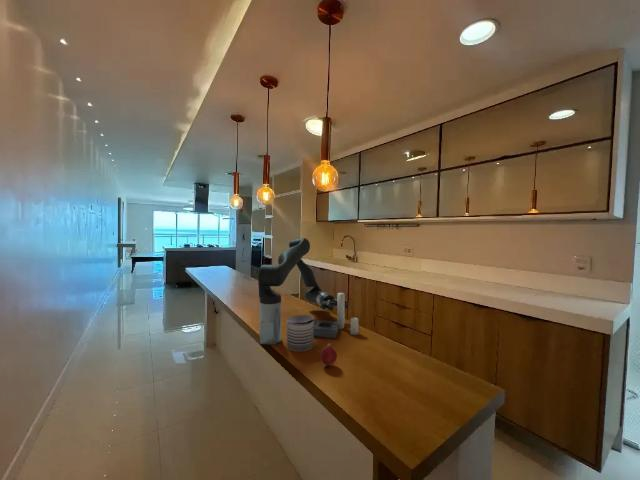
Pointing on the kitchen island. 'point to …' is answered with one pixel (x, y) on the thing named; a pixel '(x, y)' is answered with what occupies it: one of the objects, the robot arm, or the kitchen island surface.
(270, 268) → the robot arm
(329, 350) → the onion
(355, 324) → the short pin
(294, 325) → the can
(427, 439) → the kitchen island surface
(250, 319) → the kitchen island surface
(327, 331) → the hole plate
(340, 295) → the long pin
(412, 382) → the kitchen island surface
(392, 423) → the kitchen island surface
